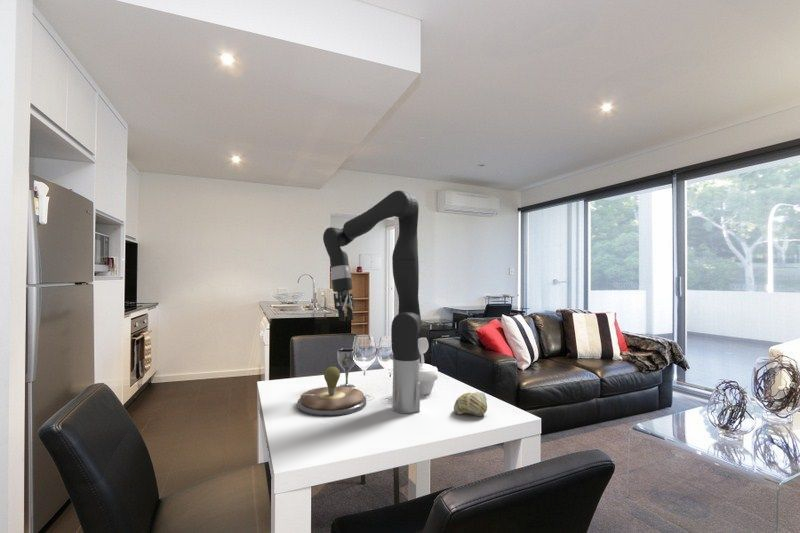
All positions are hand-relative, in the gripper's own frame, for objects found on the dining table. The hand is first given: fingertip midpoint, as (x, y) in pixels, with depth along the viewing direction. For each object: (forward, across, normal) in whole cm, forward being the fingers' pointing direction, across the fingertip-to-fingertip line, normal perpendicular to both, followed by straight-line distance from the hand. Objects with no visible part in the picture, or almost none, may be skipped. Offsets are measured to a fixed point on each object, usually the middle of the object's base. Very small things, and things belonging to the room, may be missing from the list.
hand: (346, 320), depth 144 cm
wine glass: (+27, +15, +9) cm, 32 cm away
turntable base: (+28, -7, +7) cm, 30 cm away
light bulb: (+25, -7, +6) cm, 27 cm away
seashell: (+37, -4, -41) cm, 55 cm away
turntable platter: (+27, -7, +6) cm, 29 cm away
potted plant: (+32, +15, -22) cm, 42 cm away
